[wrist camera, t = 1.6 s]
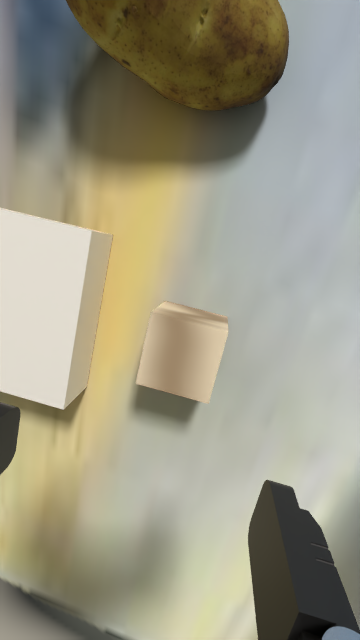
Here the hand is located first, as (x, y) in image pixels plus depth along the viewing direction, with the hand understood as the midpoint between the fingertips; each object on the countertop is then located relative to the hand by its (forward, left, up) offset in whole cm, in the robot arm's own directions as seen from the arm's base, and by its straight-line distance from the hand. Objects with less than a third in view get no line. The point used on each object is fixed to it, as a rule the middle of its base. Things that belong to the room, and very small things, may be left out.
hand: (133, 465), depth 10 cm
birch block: (0, 0, -15) cm, 15 cm away
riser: (+14, 0, -15) cm, 21 cm away
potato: (+5, -19, -16) cm, 25 cm away
